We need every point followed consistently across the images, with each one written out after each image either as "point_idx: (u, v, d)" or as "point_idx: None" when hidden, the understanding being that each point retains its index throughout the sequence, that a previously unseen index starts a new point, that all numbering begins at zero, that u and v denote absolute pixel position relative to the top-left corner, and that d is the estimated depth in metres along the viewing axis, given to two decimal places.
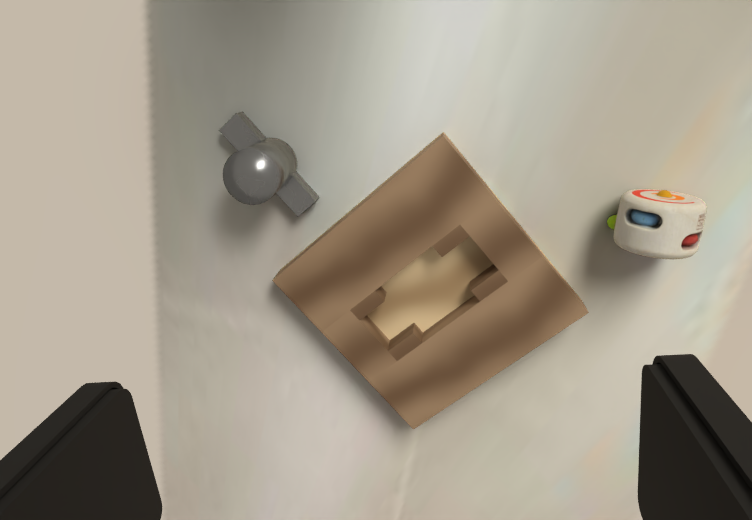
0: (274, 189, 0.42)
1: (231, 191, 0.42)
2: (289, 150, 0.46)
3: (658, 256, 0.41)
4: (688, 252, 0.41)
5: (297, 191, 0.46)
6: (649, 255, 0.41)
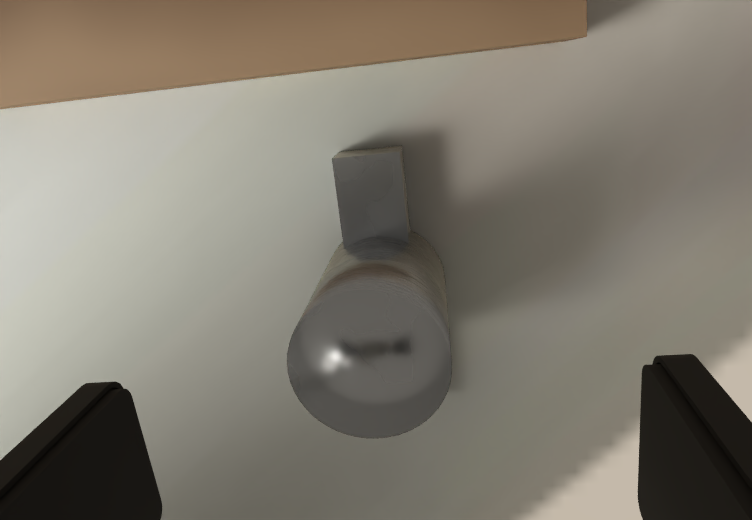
0: (328, 301, 0.14)
1: (443, 369, 0.14)
2: None
3: None
4: None
5: (357, 206, 0.18)
6: None
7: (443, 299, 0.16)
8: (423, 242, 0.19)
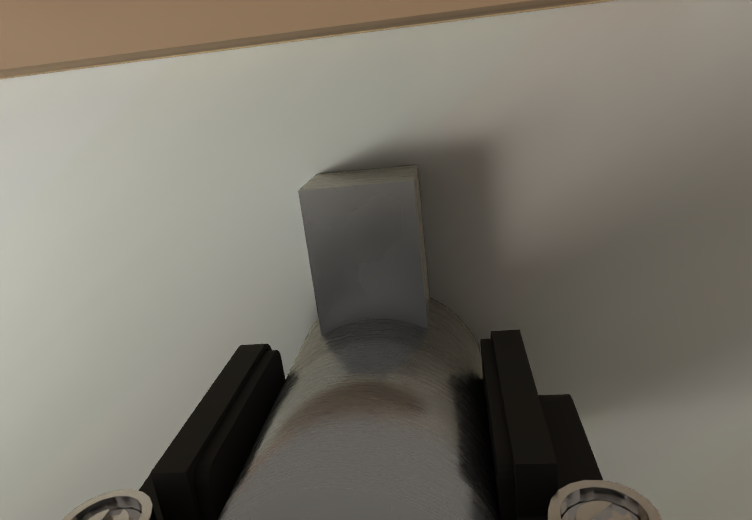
0: (265, 506, 0.07)
1: None
2: None
3: None
4: None
5: (342, 270, 0.10)
6: None
7: (489, 445, 0.09)
8: (450, 320, 0.12)
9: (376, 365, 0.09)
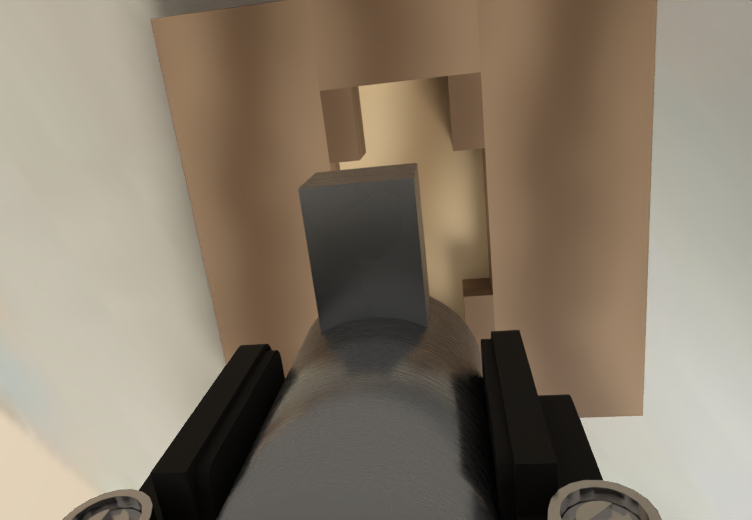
0: (265, 504, 0.07)
1: None
2: None
3: None
4: None
5: (342, 268, 0.10)
6: None
7: (489, 443, 0.09)
8: (451, 318, 0.12)
9: (376, 363, 0.09)
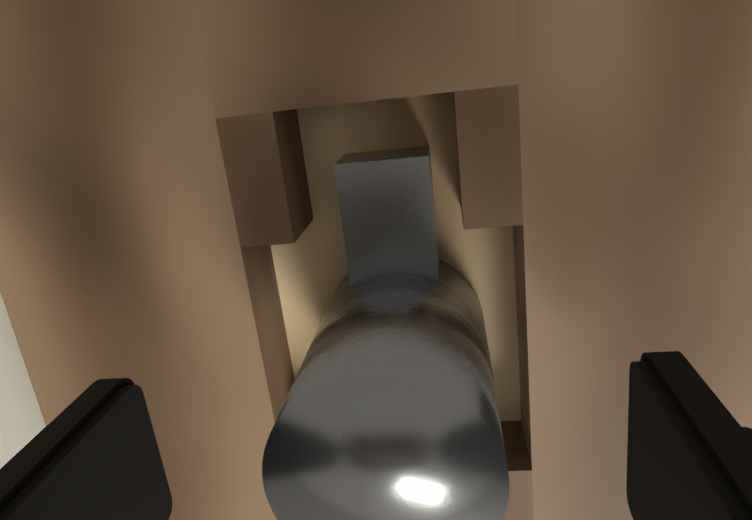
0: (322, 390, 0.09)
1: (496, 492, 0.09)
2: None
3: None
4: None
5: (368, 231, 0.13)
6: None
7: (489, 367, 0.11)
8: (457, 276, 0.14)
9: (399, 302, 0.11)
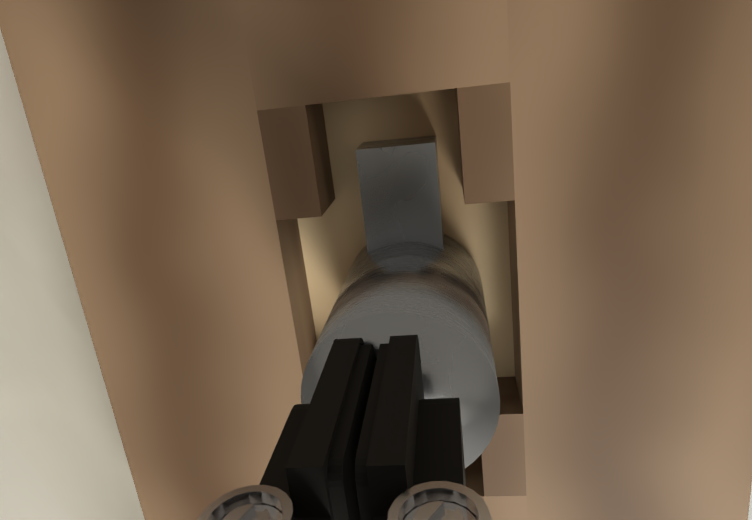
0: (351, 325, 0.11)
1: (489, 408, 0.11)
2: None
3: None
4: None
5: (384, 206, 0.15)
6: None
7: (485, 318, 0.14)
8: (459, 247, 0.16)
9: (410, 263, 0.14)
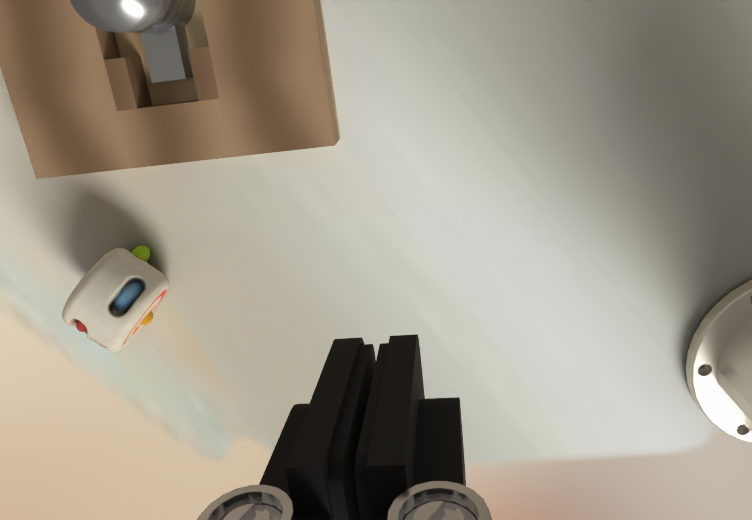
0: None
1: None
2: None
3: (74, 294, 0.34)
4: (67, 320, 0.35)
5: None
6: (79, 285, 0.34)
7: None
8: None
9: None
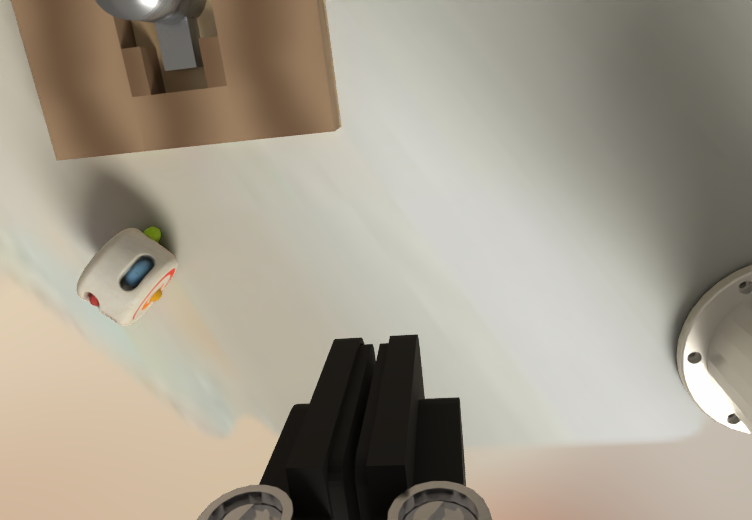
0: None
1: None
2: None
3: (87, 268, 0.36)
4: (81, 294, 0.37)
5: None
6: (93, 260, 0.36)
7: None
8: None
9: None
